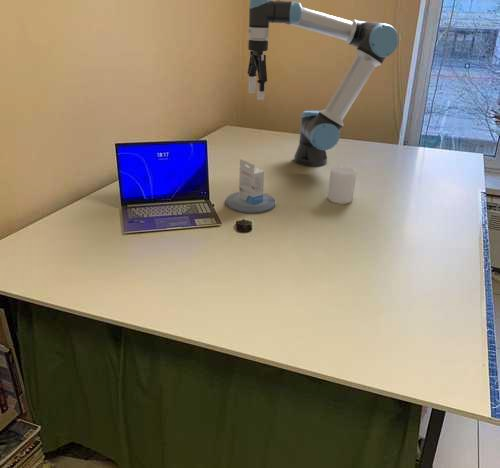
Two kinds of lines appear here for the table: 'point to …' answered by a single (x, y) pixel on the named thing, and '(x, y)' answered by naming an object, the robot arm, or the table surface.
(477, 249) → the table surface
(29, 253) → the table surface
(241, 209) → the dish
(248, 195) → the ink box
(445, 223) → the table surface
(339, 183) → the mug
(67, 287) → the table surface
